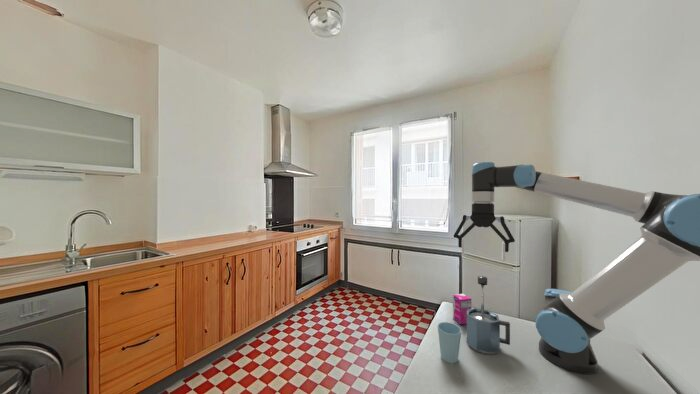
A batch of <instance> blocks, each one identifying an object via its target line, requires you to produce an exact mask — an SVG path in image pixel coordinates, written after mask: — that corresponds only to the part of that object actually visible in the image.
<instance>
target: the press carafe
mask: <svg viewBox="0 0 700 394" xmlns="http://www.w3.org/2000/svg"><path fill="white" fill-rule="evenodd" d="M473 312H480V313H481V308H476V307H475V308H471V309H468V310H467V325H466V344H467V346H468V347H469V348H470V349H472V350H473V351H475V352H477V353H480V354H482V355H487V356H495V355H498V354H500V351H501V347H500V346H501V344H504V345H508V346H511V323H510V322H509V321H505V320H500V318H499V315H498V314H496V313H493V312H492V311H490V310H487V309H484V313H485V314H488V315H490V316H492V317H493V318H494V319H495V321H492V322H487V321H482V320H477V319H476V318H474V317H472V316H470V314H471V313H473ZM500 326H504V328H505V334H504V335H505V337H504V338H502V337H501V336H500V335H501V327H500Z"/></svg>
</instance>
